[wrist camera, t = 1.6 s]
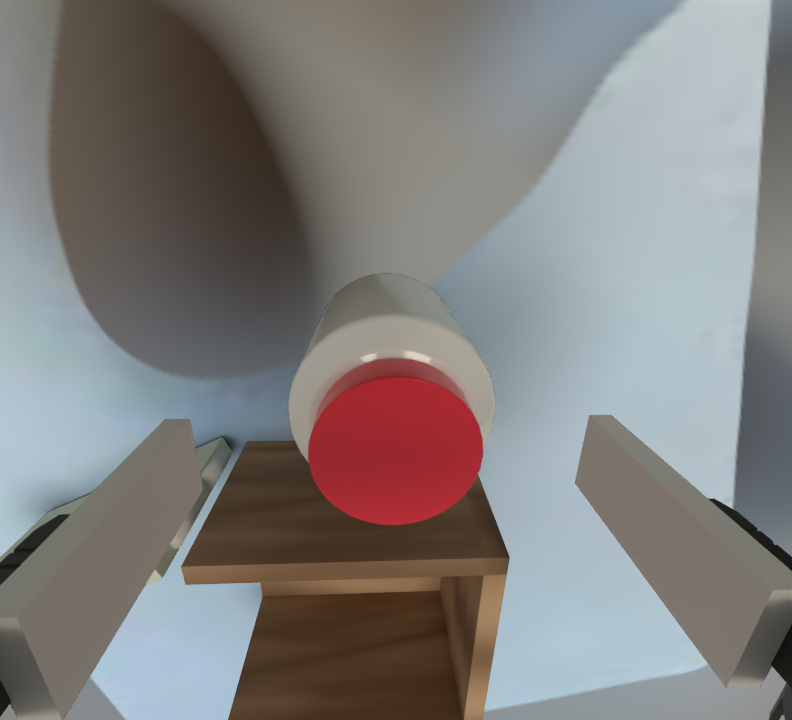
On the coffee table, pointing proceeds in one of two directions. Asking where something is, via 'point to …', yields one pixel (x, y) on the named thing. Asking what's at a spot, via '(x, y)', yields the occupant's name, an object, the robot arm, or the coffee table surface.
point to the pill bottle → (391, 403)
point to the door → (210, 467)
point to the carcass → (353, 598)
